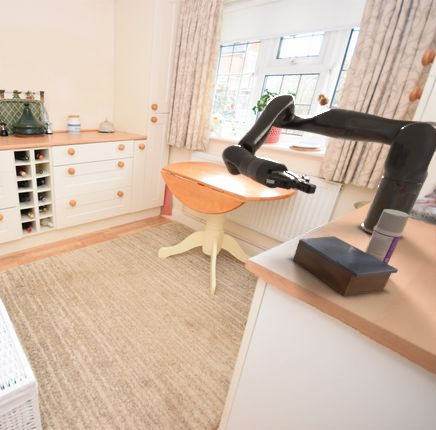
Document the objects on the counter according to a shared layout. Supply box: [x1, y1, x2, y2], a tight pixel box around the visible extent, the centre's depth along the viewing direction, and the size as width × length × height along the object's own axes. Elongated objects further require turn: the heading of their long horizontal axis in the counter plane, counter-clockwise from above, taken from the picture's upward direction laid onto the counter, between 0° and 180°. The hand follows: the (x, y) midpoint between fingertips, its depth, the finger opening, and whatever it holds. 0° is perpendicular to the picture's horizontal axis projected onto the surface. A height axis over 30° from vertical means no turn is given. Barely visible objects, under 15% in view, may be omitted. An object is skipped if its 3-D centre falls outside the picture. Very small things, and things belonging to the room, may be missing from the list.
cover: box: [298, 235, 399, 277], centre depth 66 cm, size 15×10×1 cm
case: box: [292, 241, 392, 297], centre depth 68 cm, size 14×10×5 cm
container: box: [364, 209, 410, 265], centre depth 69 cm, size 5×5×15 cm
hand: (312, 190), depth 72 cm, fingers closed
